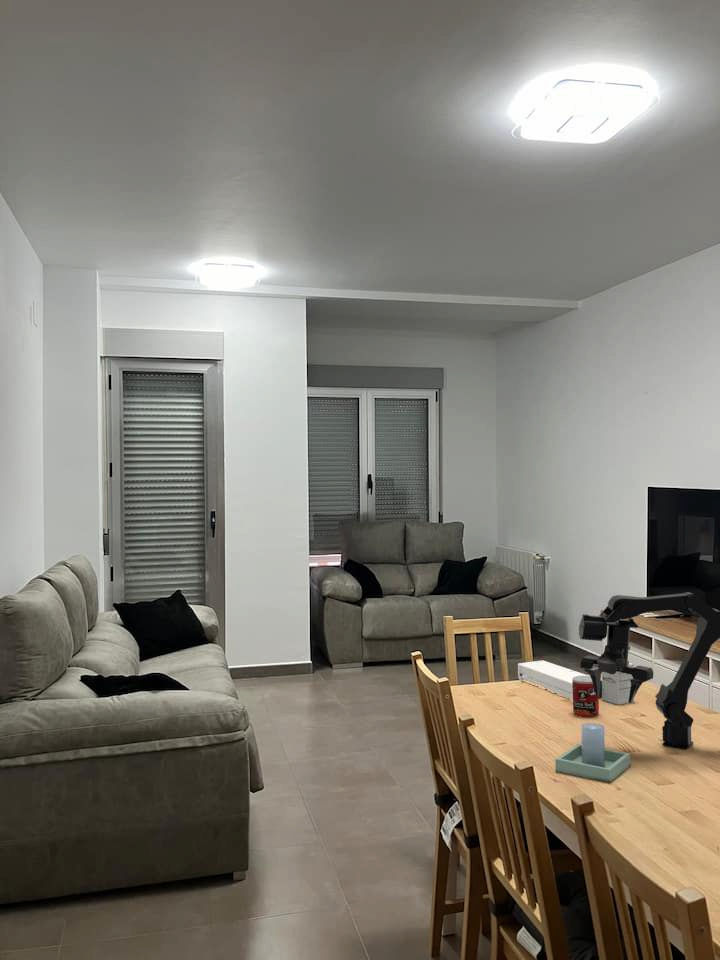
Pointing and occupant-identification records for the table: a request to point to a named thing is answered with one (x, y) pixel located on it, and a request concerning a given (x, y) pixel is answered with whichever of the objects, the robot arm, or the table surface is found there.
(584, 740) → the tall pale blue cylinder
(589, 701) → the canned food
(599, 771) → the tray
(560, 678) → the laminator
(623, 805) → the table surface
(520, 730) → the table surface
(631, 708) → the table surface
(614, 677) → the supplement box
